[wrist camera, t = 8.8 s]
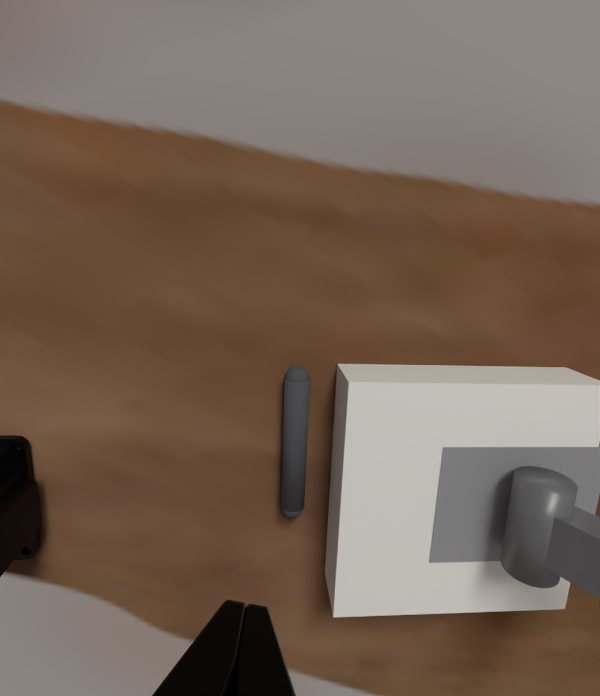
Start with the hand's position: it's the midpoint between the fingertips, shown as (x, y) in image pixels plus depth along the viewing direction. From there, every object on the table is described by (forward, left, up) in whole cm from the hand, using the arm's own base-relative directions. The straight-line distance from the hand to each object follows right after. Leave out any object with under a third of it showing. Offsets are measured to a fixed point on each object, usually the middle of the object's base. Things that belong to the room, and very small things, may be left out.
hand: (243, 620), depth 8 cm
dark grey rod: (+2, -2, -13) cm, 14 cm away
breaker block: (+10, -4, -13) cm, 17 cm away
